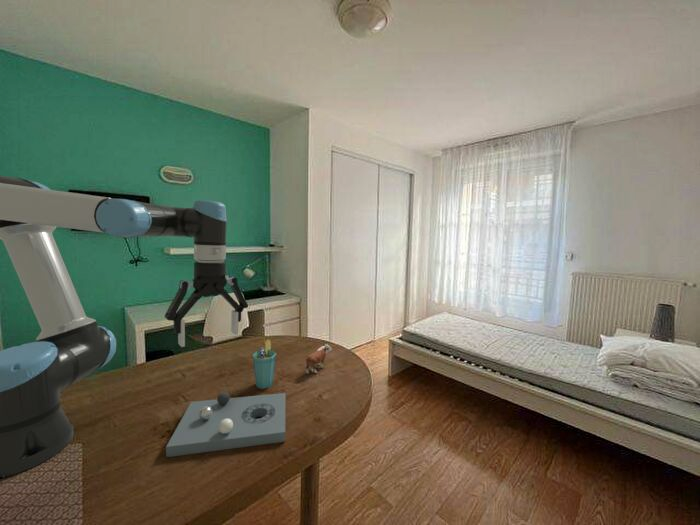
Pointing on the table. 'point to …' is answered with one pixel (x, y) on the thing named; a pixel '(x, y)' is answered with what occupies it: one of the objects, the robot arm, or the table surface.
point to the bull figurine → (317, 358)
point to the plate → (245, 431)
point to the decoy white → (225, 426)
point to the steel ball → (205, 413)
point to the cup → (264, 366)
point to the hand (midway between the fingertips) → (209, 338)
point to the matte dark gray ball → (223, 398)
